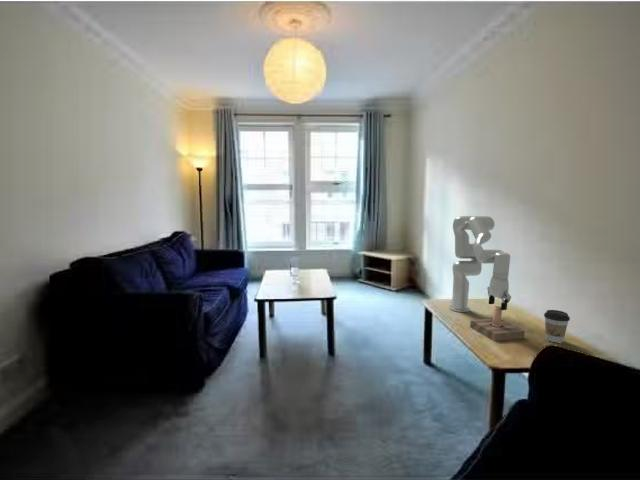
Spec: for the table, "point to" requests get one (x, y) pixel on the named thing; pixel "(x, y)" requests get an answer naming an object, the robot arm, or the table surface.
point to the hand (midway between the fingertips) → (497, 306)
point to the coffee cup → (556, 325)
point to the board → (497, 330)
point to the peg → (497, 316)
